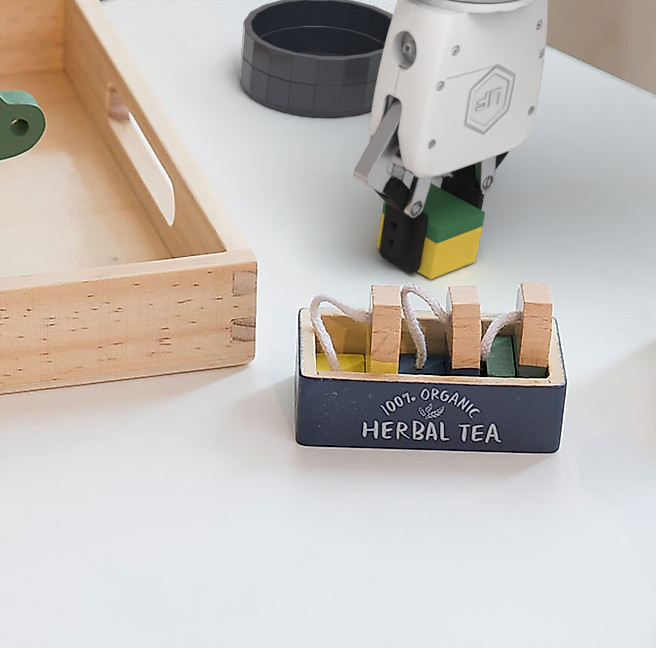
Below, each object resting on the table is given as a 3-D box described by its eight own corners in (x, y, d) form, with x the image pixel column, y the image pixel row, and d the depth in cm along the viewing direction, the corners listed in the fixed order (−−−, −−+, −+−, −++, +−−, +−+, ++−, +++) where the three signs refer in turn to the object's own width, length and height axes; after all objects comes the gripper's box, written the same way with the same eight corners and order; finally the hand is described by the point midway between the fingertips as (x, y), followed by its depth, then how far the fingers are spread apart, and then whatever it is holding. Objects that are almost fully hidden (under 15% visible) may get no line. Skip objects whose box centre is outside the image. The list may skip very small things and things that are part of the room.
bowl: (324, 42, 125) (331, -14, 122) (430, 94, 118) (440, 35, 114) (207, 76, 120) (211, 18, 117) (309, 133, 113) (316, 72, 109)
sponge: (421, 230, 101) (429, 181, 99) (475, 261, 98) (485, 211, 96) (376, 247, 100) (383, 198, 97) (430, 279, 96) (439, 229, 94)
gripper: (414, 16, 81) (369, 316, 93) (627, -47, 88) (559, 240, 100) (320, -26, 85) (289, 265, 98) (529, -83, 92) (476, 196, 105)
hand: (426, 250), depth 99 cm, fingers closed on sponge, 4 cm apart
